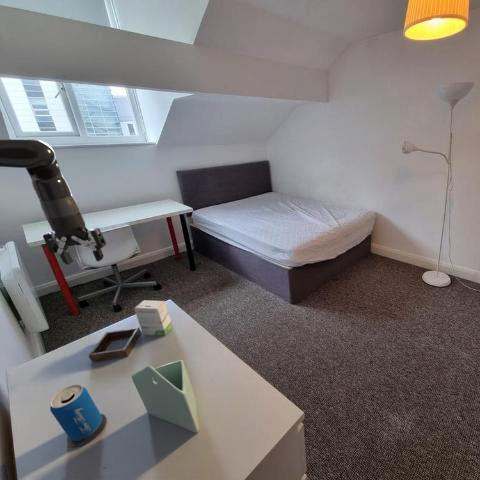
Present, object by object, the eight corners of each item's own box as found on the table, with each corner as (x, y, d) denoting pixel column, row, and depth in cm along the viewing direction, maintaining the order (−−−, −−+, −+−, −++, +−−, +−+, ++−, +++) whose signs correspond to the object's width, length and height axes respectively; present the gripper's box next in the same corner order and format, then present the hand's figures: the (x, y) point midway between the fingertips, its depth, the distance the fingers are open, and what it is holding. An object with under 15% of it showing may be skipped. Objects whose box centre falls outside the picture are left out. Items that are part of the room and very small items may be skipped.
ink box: (143, 335, 96) (132, 309, 91) (152, 325, 100) (142, 299, 95) (165, 336, 95) (156, 309, 90) (174, 325, 100) (165, 300, 95)
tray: (91, 362, 85) (88, 355, 84) (109, 338, 95) (106, 331, 94) (128, 356, 87) (125, 349, 86) (141, 333, 97) (139, 327, 95)
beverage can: (74, 448, 62) (51, 415, 57) (67, 431, 66) (44, 398, 61) (107, 425, 67) (88, 392, 62) (98, 410, 70) (80, 378, 65)
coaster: (60, 450, 62) (59, 449, 62) (80, 418, 69) (79, 416, 69) (96, 443, 63) (95, 441, 63) (112, 412, 70) (111, 410, 70)
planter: (218, 403, 71) (202, 348, 63) (197, 434, 65) (176, 376, 56) (171, 386, 77) (151, 333, 68) (147, 413, 70) (121, 357, 62)
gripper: (24, 219, 73) (50, 270, 80) (82, 214, 75) (103, 264, 82) (44, 210, 80) (67, 258, 86) (97, 206, 82) (116, 253, 88)
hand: (85, 261), depth 84 cm, fingers open, 8 cm apart
